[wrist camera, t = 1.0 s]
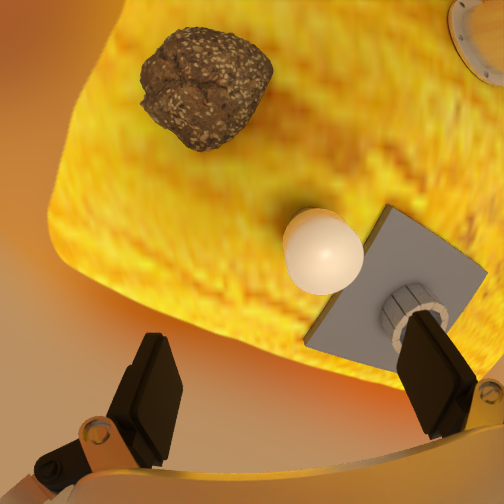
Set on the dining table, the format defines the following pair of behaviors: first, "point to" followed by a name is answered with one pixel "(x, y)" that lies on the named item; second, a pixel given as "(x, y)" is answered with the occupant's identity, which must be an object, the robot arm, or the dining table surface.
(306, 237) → the plug
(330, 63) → the dining table surface
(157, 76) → the seeded bread roll
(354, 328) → the square plate with socket
